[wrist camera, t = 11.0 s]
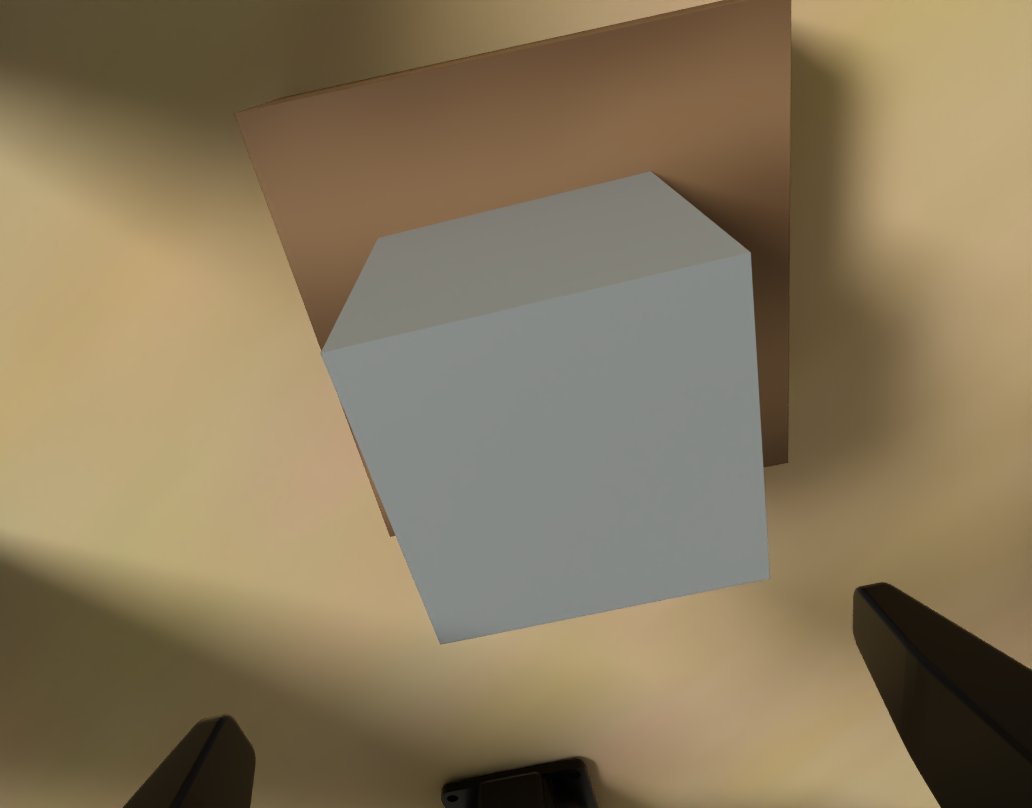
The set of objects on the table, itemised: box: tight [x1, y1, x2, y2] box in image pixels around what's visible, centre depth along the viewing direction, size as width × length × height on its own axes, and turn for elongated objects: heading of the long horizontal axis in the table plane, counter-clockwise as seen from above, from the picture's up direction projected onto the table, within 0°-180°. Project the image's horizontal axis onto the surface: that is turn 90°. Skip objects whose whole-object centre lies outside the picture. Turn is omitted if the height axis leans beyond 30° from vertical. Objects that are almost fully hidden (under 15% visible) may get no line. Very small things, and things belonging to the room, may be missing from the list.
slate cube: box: [321, 171, 770, 645], centre depth 13 cm, size 6×6×6 cm
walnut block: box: [234, 0, 791, 537], centre depth 17 cm, size 11×11×4 cm
